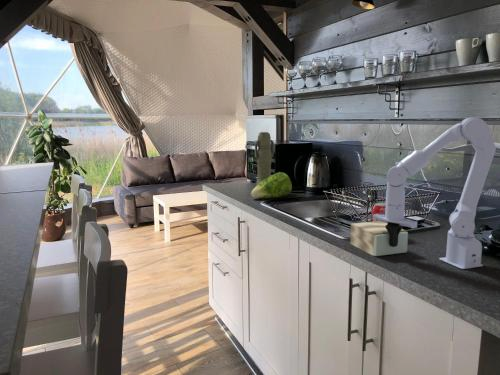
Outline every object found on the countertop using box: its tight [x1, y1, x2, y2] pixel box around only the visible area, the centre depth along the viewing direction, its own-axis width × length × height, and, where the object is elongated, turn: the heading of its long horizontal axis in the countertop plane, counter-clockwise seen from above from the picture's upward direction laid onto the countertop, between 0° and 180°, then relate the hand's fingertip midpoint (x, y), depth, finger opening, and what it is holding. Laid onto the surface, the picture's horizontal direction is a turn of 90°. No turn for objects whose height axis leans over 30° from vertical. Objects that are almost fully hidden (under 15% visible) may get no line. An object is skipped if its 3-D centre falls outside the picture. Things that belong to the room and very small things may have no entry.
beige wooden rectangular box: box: [349, 220, 407, 257], centre depth 147 cm, size 14×12×7 cm
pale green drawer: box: [373, 231, 409, 257], centre depth 146 cm, size 14×12×7 cm
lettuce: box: [250, 171, 293, 199], centre depth 237 cm, size 14×23×13 cm, turn 116°
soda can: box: [371, 202, 386, 223], centre depth 163 cm, size 7×7×12 cm
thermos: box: [254, 131, 275, 186], centre depth 254 cm, size 9×12×35 cm
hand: (393, 245), depth 139 cm, fingers closed, pressing on pale green drawer
